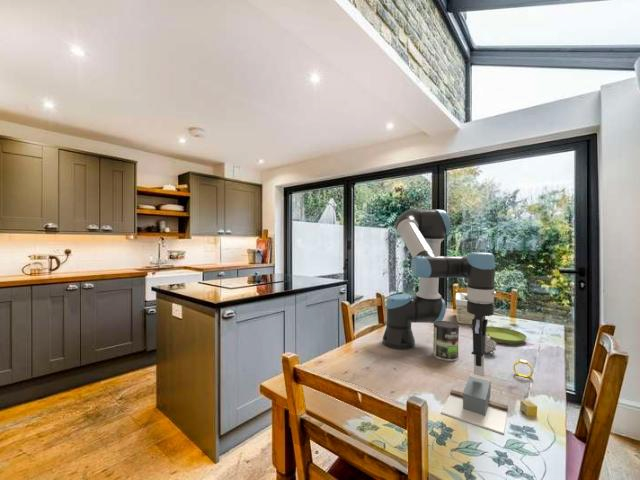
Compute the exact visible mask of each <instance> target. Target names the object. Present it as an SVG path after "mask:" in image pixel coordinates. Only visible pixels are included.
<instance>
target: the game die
mask: <svg viewBox="0 0 640 480" xmlns="http://www.w3.org/2000/svg"><path fill="white" fill-rule="evenodd" d="M497 344H499V343H498V342H495V341H494V340H493V338H491V337H490V336H489V334H488V335H487V336H486V340H485V350H484V351H485V352H487V354H489V353H493V354H495V352H494V351H496V350H497V349H496V346H497Z"/></svg>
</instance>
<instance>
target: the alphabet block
mask: <svg viewBox="0 0 640 480" xmlns="http://www.w3.org/2000/svg"><path fill="white" fill-rule="evenodd" d="M519 402H520V404H519V405H520V406H519V410H520V411H522V413H524V414H525V415H526V416H527V417H538V405H536V404H534V403H533V402H532V401H531V400H528V399H527V400H524V399H523V400H522V399H521V400H520V401H519Z"/></svg>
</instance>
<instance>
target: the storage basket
mask: <svg viewBox="0 0 640 480" xmlns="http://www.w3.org/2000/svg"><path fill="white" fill-rule="evenodd" d="M466 298H467V292H456V293H455V308H456V315H455V316H456V322H457V324H458V323H459V324H464V325H471V326H473V325H472V319H474V317H475V315H474V314H470V313H468V312H467V301H468V299H466Z"/></svg>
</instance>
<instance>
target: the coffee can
mask: <svg viewBox="0 0 640 480" xmlns="http://www.w3.org/2000/svg"><path fill="white" fill-rule="evenodd" d="M432 324H433V343H432V345H433V346H432V347H433V348H432V349H433V351H432V352H433V357H435V358H437V359H439V360H441V361H447V362H453V361H454V362H455V361H457V360H459V339H460V338H459V333H460V332H459V330H460V325H459V324H458V323H455V322H452V321H448V320H442V321H435V322H434V323H432Z"/></svg>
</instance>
